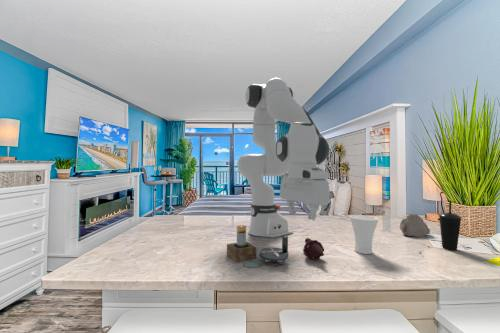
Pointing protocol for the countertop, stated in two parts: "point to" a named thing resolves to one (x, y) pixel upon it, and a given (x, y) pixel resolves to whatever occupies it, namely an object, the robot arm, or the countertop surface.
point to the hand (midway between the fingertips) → (301, 216)
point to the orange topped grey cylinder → (241, 236)
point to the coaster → (252, 264)
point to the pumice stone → (414, 226)
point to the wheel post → (274, 262)
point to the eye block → (241, 252)
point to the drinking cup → (450, 229)
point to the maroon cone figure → (313, 249)
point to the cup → (363, 232)
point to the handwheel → (276, 251)
